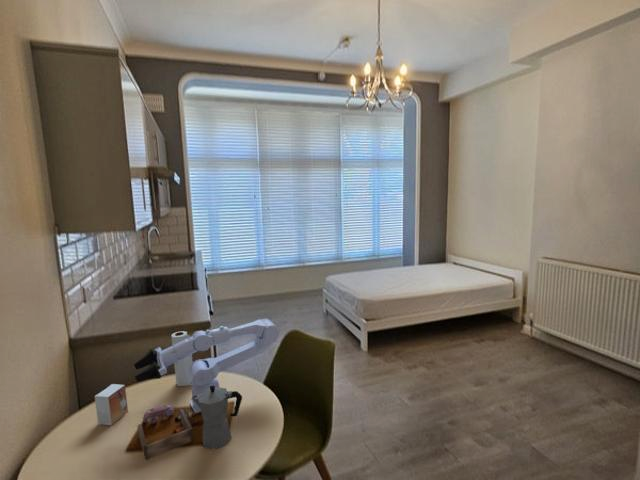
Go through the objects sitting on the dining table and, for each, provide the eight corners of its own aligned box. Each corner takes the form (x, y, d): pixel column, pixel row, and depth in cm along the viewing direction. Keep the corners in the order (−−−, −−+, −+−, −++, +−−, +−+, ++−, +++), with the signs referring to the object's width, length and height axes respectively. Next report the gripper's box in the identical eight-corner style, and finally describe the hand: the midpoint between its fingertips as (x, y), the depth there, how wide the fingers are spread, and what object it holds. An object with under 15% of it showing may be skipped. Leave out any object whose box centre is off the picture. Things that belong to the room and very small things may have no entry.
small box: (111, 426, 119) (107, 397, 118) (97, 424, 120) (93, 396, 119) (128, 411, 127) (125, 384, 125) (115, 410, 128) (112, 383, 127)
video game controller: (144, 430, 118) (142, 419, 115) (143, 418, 122) (141, 406, 118) (175, 421, 123) (174, 409, 119) (173, 409, 126) (173, 397, 122)
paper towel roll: (174, 382, 146) (169, 333, 143) (189, 377, 149) (184, 329, 146) (179, 389, 140) (174, 338, 137) (194, 384, 143) (189, 334, 140)
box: (183, 419, 121) (182, 408, 120) (193, 440, 110) (192, 428, 110) (138, 436, 113) (137, 425, 113) (145, 460, 103) (143, 448, 102)
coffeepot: (191, 452, 105) (185, 396, 103) (199, 430, 115) (194, 379, 112) (242, 447, 106) (238, 392, 104) (247, 427, 116) (243, 376, 113)
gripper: (169, 334, 128) (129, 352, 122) (174, 354, 115) (131, 375, 110) (176, 349, 130) (138, 368, 125) (182, 370, 118) (140, 392, 113)
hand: (135, 373), depth 118 cm, fingers open, 7 cm apart
